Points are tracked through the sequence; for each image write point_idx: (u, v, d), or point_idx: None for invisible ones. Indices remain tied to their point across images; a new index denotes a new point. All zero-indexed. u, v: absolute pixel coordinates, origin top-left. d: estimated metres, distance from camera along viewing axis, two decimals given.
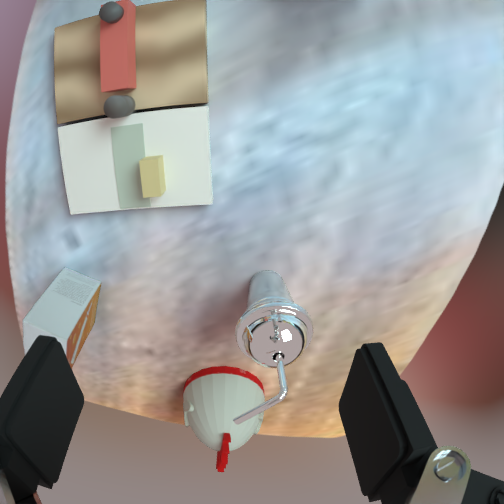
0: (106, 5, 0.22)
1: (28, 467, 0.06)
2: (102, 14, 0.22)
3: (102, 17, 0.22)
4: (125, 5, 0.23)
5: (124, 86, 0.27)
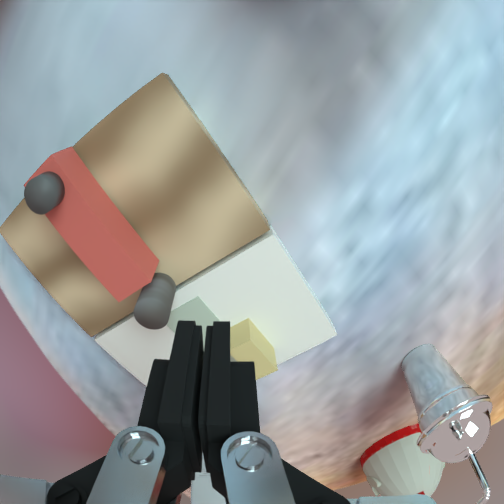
0: (28, 189, 0.15)
1: (185, 460, 0.07)
2: (34, 206, 0.15)
3: (37, 210, 0.16)
4: (55, 167, 0.16)
5: (144, 282, 0.20)
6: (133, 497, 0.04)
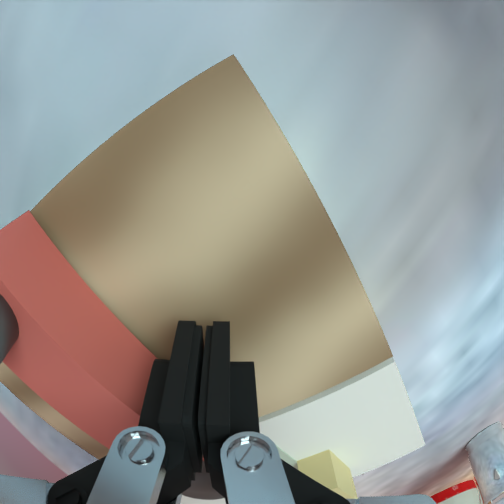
0: None
1: None
2: None
3: None
4: None
5: None
6: (133, 497, 0.04)
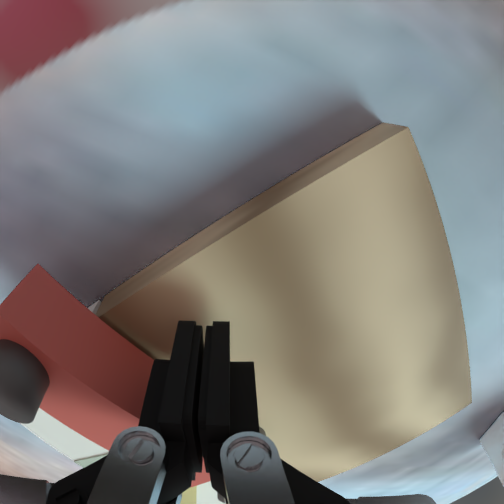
0: None
1: None
2: (2, 410, 0.06)
3: (11, 417, 0.07)
4: (12, 333, 0.07)
5: None
6: (133, 497, 0.04)
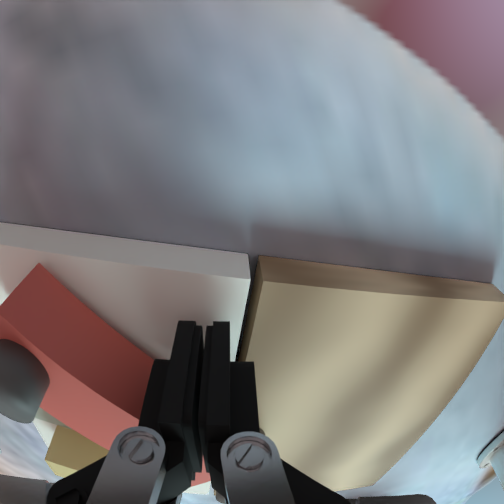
0: None
1: None
2: (2, 410, 0.06)
3: (11, 416, 0.07)
4: (12, 333, 0.07)
5: None
6: (133, 497, 0.04)
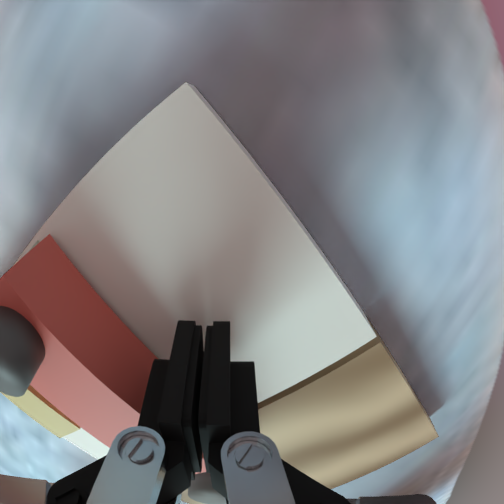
0: None
1: (185, 459, 0.07)
2: None
3: None
4: (15, 301, 0.07)
5: None
6: (133, 497, 0.04)
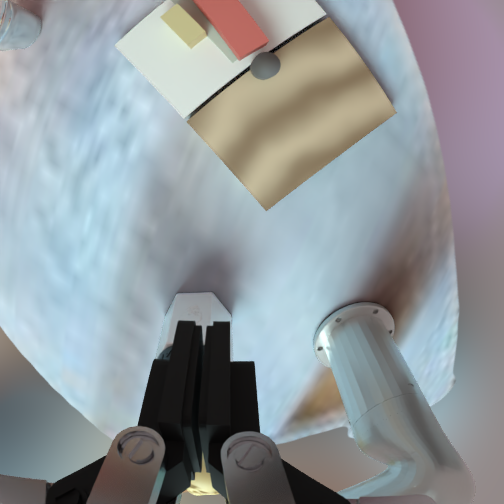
0: None
1: None
2: None
3: None
4: None
5: (264, 41, 0.24)
6: (133, 497, 0.04)
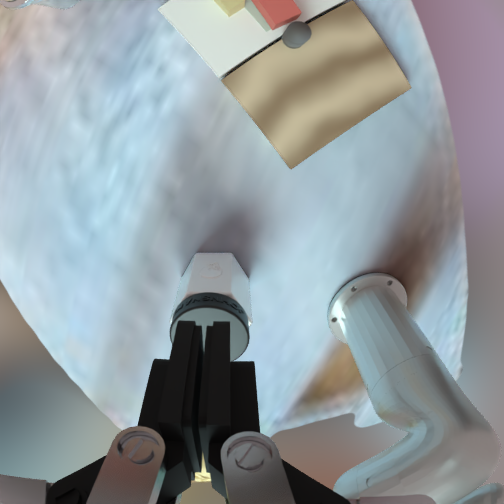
0: None
1: None
2: None
3: None
4: None
5: (297, 12, 0.25)
6: (133, 497, 0.04)
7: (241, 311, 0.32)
